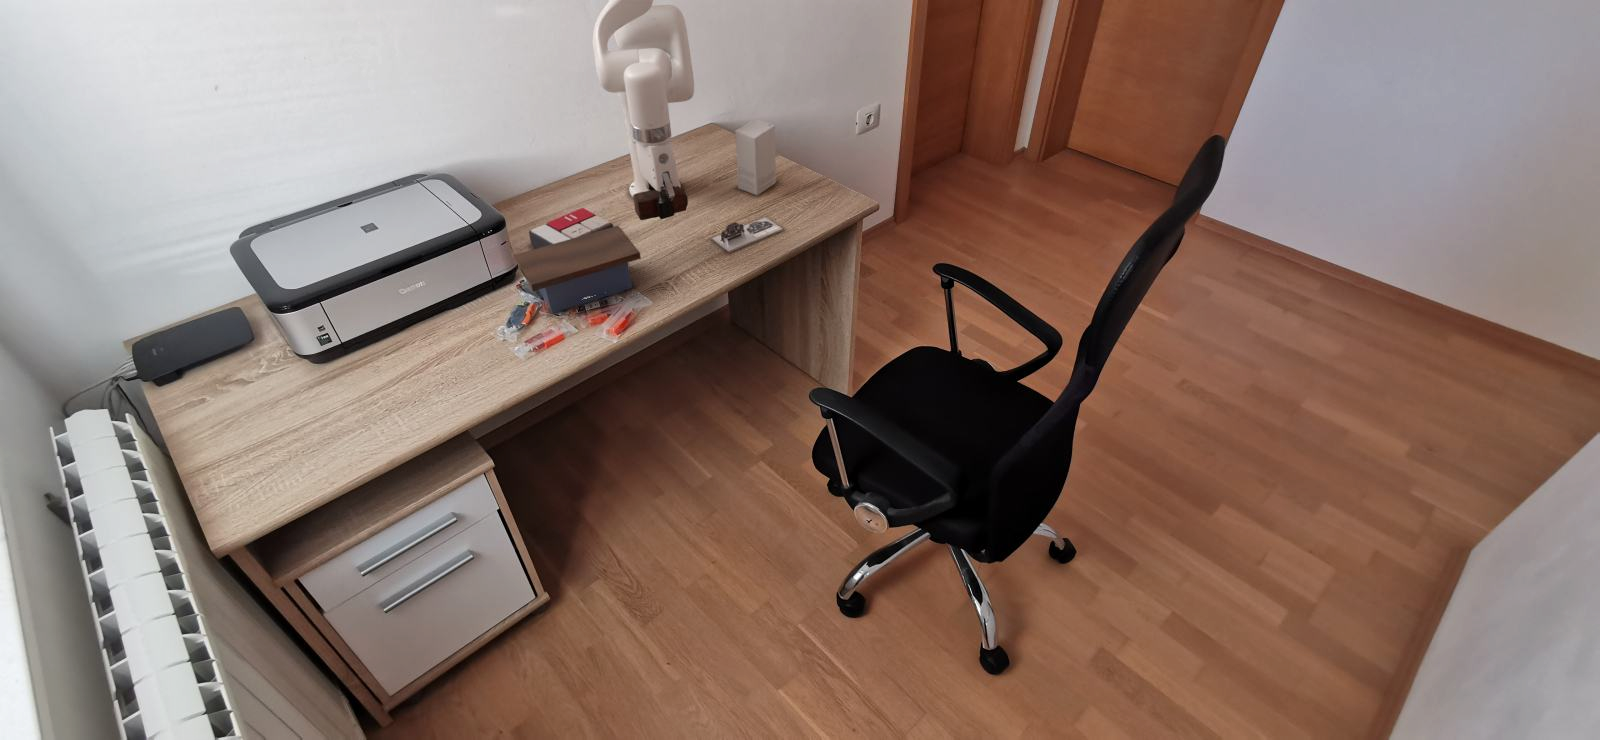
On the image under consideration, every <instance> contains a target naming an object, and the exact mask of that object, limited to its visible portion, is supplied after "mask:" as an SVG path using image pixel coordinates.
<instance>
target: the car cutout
mask: <svg viewBox="0 0 1600 740" xmlns="http://www.w3.org/2000/svg"><path fill="white" fill-rule="evenodd" d="M782 231H783V227H781V226H780V225H778V224H777V223H775V222H773V221H772V220H771V219H769V218H768V217H767V216H764V217H761V218H759V219H757V220H755V221H754V220H753V221H751V222H749V223H747V224H744V225H743V223H740V224H739V222H738V221H734V222H732V223H729V224H728V225H726V227H725V229H724V230H722V232H721V233H720V234H719V235H716V236H713V237H712V241H714V242H715V243H716V244H717V245H719V246H720V247H721V248H722V249H724V250H725V251H727V252H728V253H732V252H734V251H736V250H739V249H741V248H743V247H746V246H748V245H751V244H753V243H756V242H758V241H761V240H762V239H765V238H768V237H769V236H772V235H775V234H777V233H779V232H782Z"/></svg>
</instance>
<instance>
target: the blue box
mask: <svg viewBox="0 0 1600 740" xmlns="http://www.w3.org/2000/svg"><path fill="white" fill-rule="evenodd" d="M631 289H633V284H632V277H631V273H630V267H629V262H628V263H625V264H621V265H618V266H615V267H612V268H608V269H605V270H602V271H598V272H595V273H592V274H588V275H585V276H582V277H579V278H575V279H572V280H569V281H565V282H562V283H559V284H556V285H552V286H549V287H546V288H542V289H539V290H538V293H540V295H541V297H542V298H543V300H544V302H545V304H546V305H547V308H548V309H549V310H550V313H552V314H555V313H559V312H561V311H564V310H567V309H571V308H574V307H578V306H580V305H583V304H587V303H590V302H593V301H596V300H598V299H603V298H605V297H608V296H612V295H615V294H618V293H622V292H624V291H627V290H631ZM605 292H606V293H605ZM594 295H596V296H594ZM587 296H593V297H590V298H587V299H583V298H584V297H587ZM582 299H583V300H582Z"/></svg>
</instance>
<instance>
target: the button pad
mask: <svg viewBox="0 0 1600 740" xmlns="http://www.w3.org/2000/svg"><path fill="white" fill-rule="evenodd" d="M612 227H614V224H613V222H612V223H611V222H610V221H608V220H607V219H605V218H603V217H601V216H599V215H596V214H595V213H594V212H592V211H589V210H588V209H586V208H584V207H581V208H578V209H576V210H573V211H571V212H569V213H566V214H563V215H561V216H559V217H557V218H554V219H552V220H549V221H548V222H546V223H545V224H542V225H540V226H537V227H535V228H533V229H530V230H529V231H528V236H529V239H530V244H531V246H532V247H534V249H537V248H541V247H544V246H548V245H551V244H555V243H558V242H562V241H566V240H569V239H573V238H576V237H580V236H583V235H587V234H590V233H594V232H597V231H601V230H605V229H608V228H612Z"/></svg>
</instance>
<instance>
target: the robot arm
mask: <svg viewBox="0 0 1600 740" xmlns="http://www.w3.org/2000/svg"><path fill="white" fill-rule="evenodd" d="M653 3H654V0H608V2H607V3H606V4H605V6H604V7H603V8H602V9H601V11H600V13H599V14H598V16H597V19H596V21H595V24H594V27H593V32H592V48H593V55H594V63H595V70H596V75H597V79H598V82H599V84H600V86H601V87H602V88H603V90H605V91H606V92H609V93H614V94H615V93H616V94H617V95H618V99H619V101H620V105H621V109H622V113H623V118H624V123H625V128H626V133H627V134H626V135H627V136H626V137H627V141H628V148H629V155H630V161H631V167H632V173H633V180H634V181H632V182H631V184H630V185H629V188H628V190H629V194H630V196H631V197H632V198H633V195H634V194H636V193H640V192H645V191H651V190H657V195H658V199H659V201H658V202H657V204H658V212H659V217H658V219H660V220H664V219H668V218H672V217H674V216H675V213H674V207H673V197H675V194H674V191H673V188H672V186H674V187H678V186H679V187H680V188H682V187H681V182H680V181H679V176H678V169H677V164H676V163H677V162H676V157H675V153H674V149H673V146H672V141H671V139H672V128H671V120H670V111H669V104H671V103H672V104H673V103H683V102H687V101H690V100H691V99H692V98H693V96H694V94H695V79H694V71H693V65H692V55H691V49H690V43H689V35H688V30H687V24H686V20H685V17H684V14H683V12H682V11H681V9H679V7H677V6H675V5H673V4H672V5H671V4H660V5H659V4H658V5H653ZM613 34H614V39H615V43H616V45H617V47H618V49H617V50H609V48H608V43H609V40H610V38H611V37H612V36H613ZM665 190H666V193H665V194H663V195H662V193H661V191H665Z"/></svg>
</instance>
